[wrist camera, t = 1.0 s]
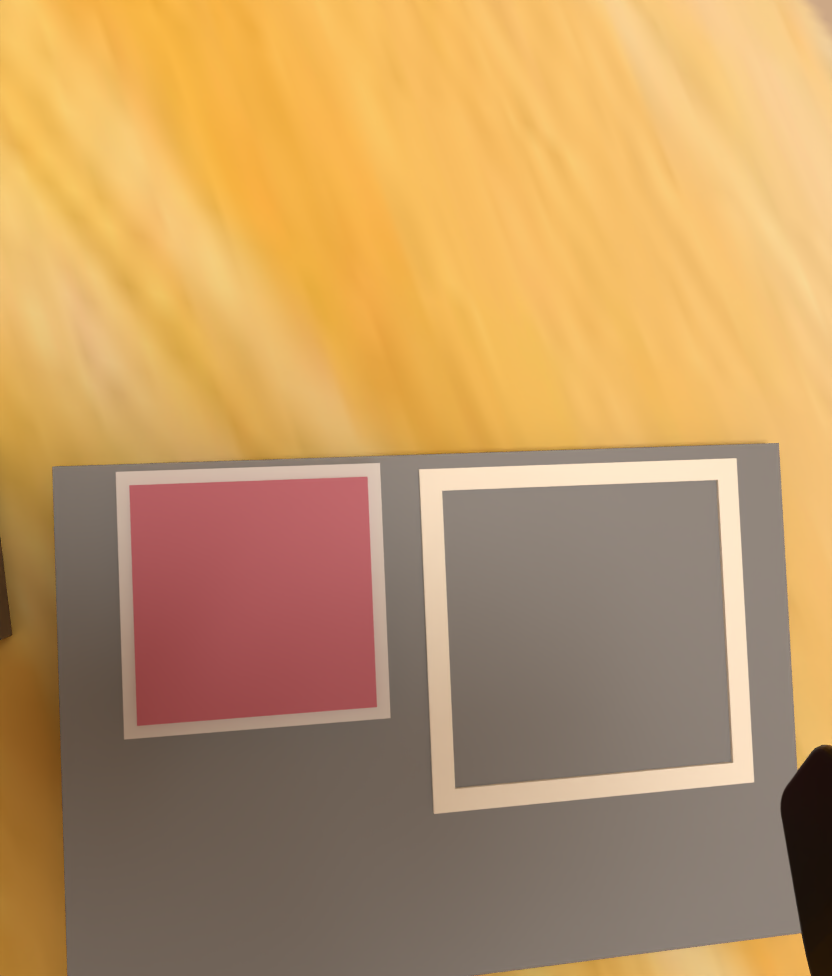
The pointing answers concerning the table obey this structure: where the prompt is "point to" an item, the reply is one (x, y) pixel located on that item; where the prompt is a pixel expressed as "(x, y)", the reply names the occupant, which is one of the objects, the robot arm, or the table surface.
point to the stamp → (4, 603)
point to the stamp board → (422, 710)
